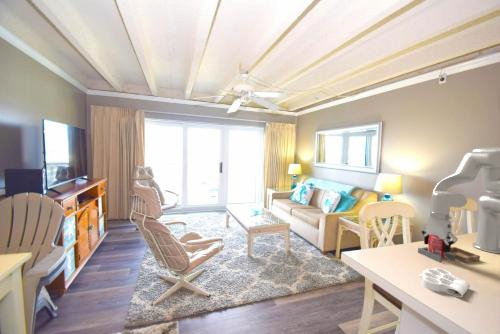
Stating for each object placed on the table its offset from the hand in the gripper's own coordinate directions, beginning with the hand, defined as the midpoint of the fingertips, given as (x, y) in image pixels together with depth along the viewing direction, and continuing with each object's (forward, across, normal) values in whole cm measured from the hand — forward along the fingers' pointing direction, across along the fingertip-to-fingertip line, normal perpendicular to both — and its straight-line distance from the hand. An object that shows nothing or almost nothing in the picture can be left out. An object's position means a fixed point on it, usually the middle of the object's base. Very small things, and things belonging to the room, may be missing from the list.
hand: (436, 247), depth 114 cm
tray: (+4, -3, -12) cm, 13 cm away
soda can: (+5, 0, 0) cm, 5 cm away
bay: (+5, 0, 0) cm, 5 cm away
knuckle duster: (+5, -19, +25) cm, 32 cm away
